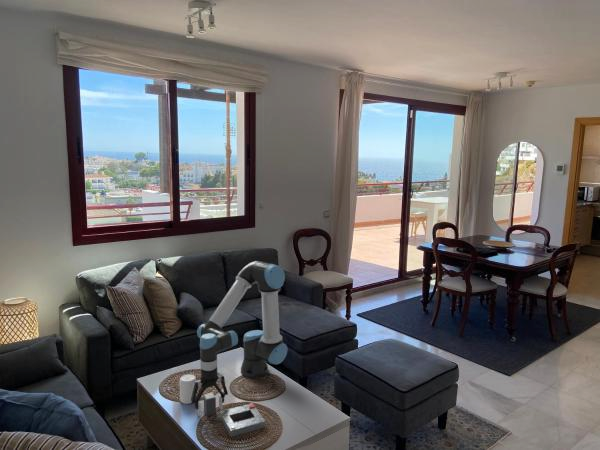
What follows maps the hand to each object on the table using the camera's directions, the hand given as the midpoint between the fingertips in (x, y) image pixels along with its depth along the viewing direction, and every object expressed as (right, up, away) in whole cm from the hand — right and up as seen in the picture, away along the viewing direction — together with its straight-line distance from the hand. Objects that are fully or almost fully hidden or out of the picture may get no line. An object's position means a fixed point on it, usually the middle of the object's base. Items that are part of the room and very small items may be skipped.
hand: (209, 411), depth 209 cm
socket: (+16, -2, -7) cm, 18 cm away
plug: (0, 0, 0) cm, 0 cm away
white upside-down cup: (-13, +1, +10) cm, 16 cm away
